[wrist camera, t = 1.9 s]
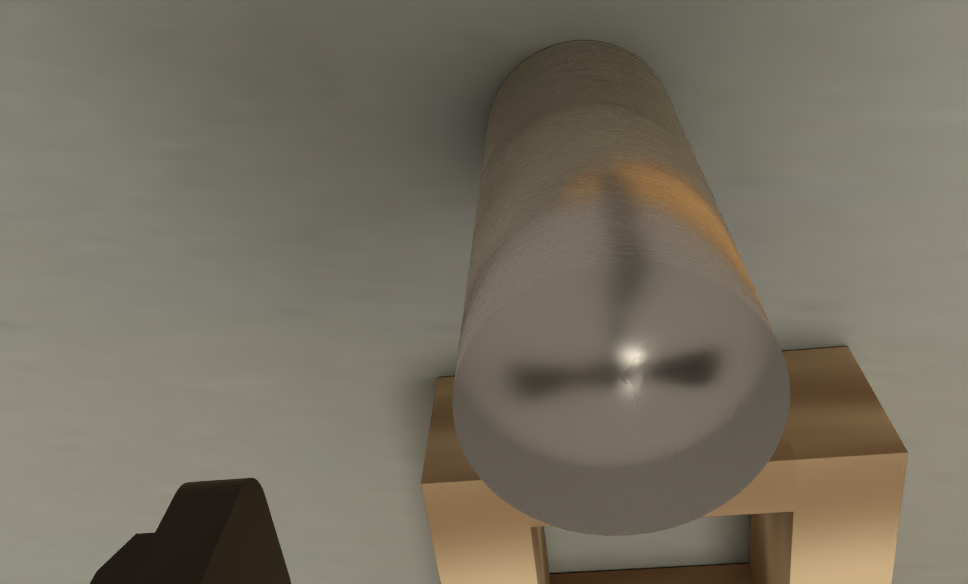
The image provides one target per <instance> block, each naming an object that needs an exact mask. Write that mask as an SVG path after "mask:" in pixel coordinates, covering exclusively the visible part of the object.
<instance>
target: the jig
mask: <svg viewBox="0 0 968 584" xmlns="http://www.w3.org/2000/svg"><path fill="white" fill-rule="evenodd" d="M782 354H783V356H784V359H785V361H786V365H787V370H788V375H789V380H790V405H789V413H788V419H787V422H786V425H785V429H784V432H783V435H782V437H781V439H780V441H779V444H778V446H777V448H776V450H775V452H774V453H773V455H772V456H771V458H770V460H769V461H768V463H767V464H766V466H765V467H764V468H763V469H762V471H761V472H760V473H759V474H758V475H757V476H756V478H755V479H754V480H753V481H752V482H751V483H750V484H749V485H748V486H746V487H745V488H744V489H743V490H742V491H741V492H740V493H739V494H737V495H736V496H735V497H733V498H732V499H730V500H729V501H728V502H726V503H725V504H723V505H722V506H720V507H718V508H717V509H715V510H713V511H711V512H709V513H708V514H706V515H704V516H702V517H709V516H726V515H743V514H751V520H750V562H749V564H730V565H712V566H693V567H675V568H656V569H638V570H619V571H600V572H582V573H563V574H549V566H548V557H547V549H546V541H545V533H544V526H552V525H549V524H546V523H544V522H541V521H539V520H537V519H534V518H532V517H530V516H528V515H526V514H524V513H523V512H521V511H519V510H517V509H515V508H514V507H512V506H511V505H509V504H508V503H507V502H505V501H504V500H503V499H501V498H500V497H498V496H497V495H496V494H495V493H494V492H493V491H492V490H491V489H490V488H489V487H488V486H487V485H486V484H485V483H484V482H483V481H482V480H481V478H480V477H479V476H478V475H477V474H476V472H475V471H474V470H473V468H472V466H471V465H470V463H469V461H468V460H467V458H466V457H465V455H464V452H463V450H462V448H461V445H460V443H459V440H458V437H457V433H456V429H455V425H454V419H453V408H452V402H453V388H454V380H455V376H454V377H440V378H438V380H437V386H436V393H435V399H434V405H433V412H432V418H431V424H430V430H429V437H428V443H427V449H426V455H425V462H424V468H423V474H422V481H421V487H422V492H423V497H424V502H425V507H426V512H427V517H428V522H429V527H430V532H431V537H432V542H433V547H434V552H435V557H436V562H437V566H438V571H439V576H440V581H441V584H891V582H892V574H893V567H894V559H895V551H896V543H897V535H898V528H899V520H900V512H901V504H902V496H903V488H904V481H905V473H906V465H907V457H908V452H907V450H906V448H905V446H904V444H903V443H902V441H901V439H900V437H899V436H898V434H897V432H896V430H895V429H894V427H893V425H892V423H891V422H890V420H889V418H888V416H887V415H886V413H885V411H884V409H883V408H882V406H881V404H880V402H879V400H878V399H877V397H876V395H875V393H874V392H873V390H872V388H871V386H870V385H869V383H868V381H867V379H866V378H865V376H864V374H863V372H862V371H861V369H860V367H859V365H858V363H857V362H856V360H855V358H854V356H853V355H852V353H851V351H850V349H849V348H848V346H847V347H834V348H821V349H808V350H795V351H782Z"/></svg>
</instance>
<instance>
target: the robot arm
mask: <svg viewBox="0 0 968 584" xmlns="http://www.w3.org/2000/svg"><path fill="white" fill-rule="evenodd" d="M90 584H291V581H290V577H289V574H288V570H287V567H286V564H285V560H284V557H283V554H282V550H281V547H280V544H279V540H278V537H277V534H276V531H275V527H274V524H273V521H272V517H271V514H270V511H269V507H268V504H267V501H266V497H265V494H264V491H263V489H262V487H261V485H260V483H259V482H258V481H257V480H256V479H254V478H243V479H228V480H214V481H200V482H188V483H185V484H183V485H182V486H181V487H180V488H179V489H178V490H177V492H176V494H175V495H174V497H173V499H172V501H171V503H170V505H169V507H168V509H167V511H166V513H165V515H164V517H163V519H162V521H161V522H160V524H159V526H158V528H157V530H156V532H155V533H143V534H136V535H134V536H133V537H132V538H131V539H130V540H129V541H128V542H127V543H126V544H125V545H124V546H123V547H122V548H121V549H120V550H119V551H118V552H117V553H116V554H114V555H113V556H112V557H111V558H110V559H109V560H108V561H107V562H106V563H105V564H104V565H103V566H102V567H101V568H100V569H99V570H98V571H97V572H96V574H95V576H94V577H93V579H92V581H91V583H90Z"/></svg>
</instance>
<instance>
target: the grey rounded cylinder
mask: <svg viewBox="0 0 968 584" xmlns="http://www.w3.org/2000/svg"><path fill="white" fill-rule="evenodd" d="M789 405H790V380H789V375H788V370H787V365H786V361H785V359H784V356H783V354H782V351H781V348H780V346H779V343H778V341H777V339H776V337H775V334H774V332H773V330H772V328H771V325H770V323H769V321H768V319H767V316H766V314H765V312H764V310H763V307H762V305H761V303H760V301H759V298H758V296H757V294H756V292H755V289H754V287H753V285H752V283H751V280H750V278H749V276H748V274H747V271H746V269H745V267H744V265H743V262H742V260H741V258H740V256H739V253H738V251H737V249H736V247H735V244H734V242H733V240H732V238H731V235H730V233H729V231H728V229H727V226H726V224H725V222H724V220H723V217H722V215H721V213H720V211H719V208H718V206H717V204H716V202H715V199H714V197H713V195H712V193H711V190H710V188H709V186H708V184H707V181H706V179H705V177H704V175H703V172H702V170H701V168H700V166H699V163H698V161H697V159H696V157H695V154H694V152H693V150H692V148H691V145H690V143H689V141H688V139H687V136H686V134H685V132H684V130H683V127H682V125H681V123H680V121H679V118H678V116H677V114H676V112H675V109H674V107H673V105H672V103H671V100H670V98H669V96H668V94H667V91H666V89H665V88H664V86H663V84H662V82H661V81H660V79H659V78H658V76H657V75H656V74H655V73H654V71H653V70H652V69H651V68H650V67H649V66H648V65H647V64H646V63H645V62H644V61H642V60H641V59H640V58H638V57H637V56H636V55H634V54H632V53H631V52H629V51H627V50H625V49H623V48H620V47H618V46H615V45H612V44H609V43H604V42H600V41H590V40H579V41H569V42H564V43H559V44H556V45H553V46H550V47H547V48H545V49H543V50H541V51H538V52H536V53H535V54H533V55H532V56H530V57H529V58H527V59H526V60H524V61H523V62H522V63H521V64H520V65H518V66H517V67H516V68H515V69H514V70H513V71H512V72H511V73H510V75H509V76H508V77H507V78H506V80H505V81H504V83H503V84H502V85H501V87H500V89H499V91H498V93H497V95H496V96H495V99H494V102H493V104H492V107H491V111H490V116H489V121H488V128H487V136H486V143H485V151H484V159H483V166H482V174H481V182H480V189H479V197H478V205H477V212H476V220H475V227H474V235H473V243H472V250H471V258H470V266H469V273H468V281H467V289H466V296H465V304H464V311H463V319H462V327H461V334H460V342H459V350H458V357H457V365H456V372H455V380H454V388H453V402H452V408H453V419H454V425H455V429H456V433H457V437H458V440H459V443H460V445H461V448H462V450H463V452H464V455H465V457H466V458H467V460H468V461H469V463H470V465H471V466H472V468H473V470H474V471H475V472H476V474H477V475H478V476H479V477H480V478H481V480H482V481H483V482H484V483H485V484H486V485H487V486H488V487H489V488H490V489H491V490H492V491H493V492H494V493H495V494H496V495H497V496H498V497H500V498H501V499H503V500H504V501H505V502H507V503H508V504H509V505H511V506H512V507H514V508H515V509H517V510H519V511H521V512H523V513H524V514H526V515H528V516H530V517H532V518H534V519H537V520H539V521H541V522H544V523H546V524H549V525H552V526H555V527H559V528H562V529H566V530H570V531H575V532H580V533H586V534H596V535H634V534H643V533H650V532H655V531H660V530H665V529H669V528H672V527H675V526H678V525H681V524H685V523H687V522H690V521H692V520H694V519H697V518H699V517H702V516H704V515H706V514H708V513H709V512H711V511H713V510H715V509H717V508H718V507H720V506H722V505H723V504H725V503H726V502H728V501H729V500H730V499H732V498H733V497H735V496H736V495H737V494H739V493H740V492H741V491H742V490H743V489H744V488H745V487H746V486H748V485H749V484H750V483H751V482H752V481H753V480H754V479H755V478H756V476H757V475H758V474H759V473H760V472H761V471H762V469H763V468H764V467H765V466H766V464H767V463H768V461H769V460H770V458H771V456H772V455H773V453H774V452H775V450H776V448H777V446H778V444H779V441H780V439H781V437H782V435H783V432H784V429H785V425H786V422H787V419H788V413H789Z"/></svg>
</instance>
